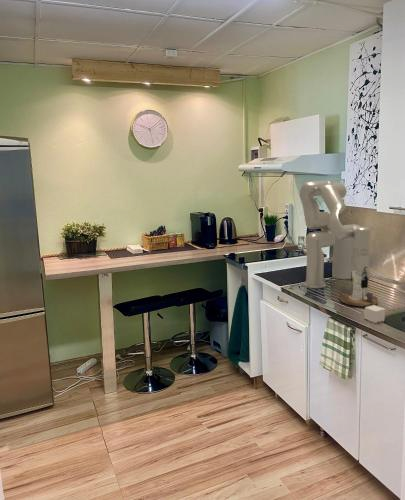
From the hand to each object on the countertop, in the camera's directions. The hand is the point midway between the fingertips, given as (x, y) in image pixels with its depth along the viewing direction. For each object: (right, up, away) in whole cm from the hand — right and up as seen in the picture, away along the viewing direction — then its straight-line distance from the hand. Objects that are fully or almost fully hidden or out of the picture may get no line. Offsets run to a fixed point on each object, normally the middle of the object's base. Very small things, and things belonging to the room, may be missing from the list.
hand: (359, 284), depth 210 cm
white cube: (-2, -15, -22) cm, 27 cm away
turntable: (0, -9, +2) cm, 9 cm away
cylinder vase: (+7, +1, +47) cm, 47 cm away
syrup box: (0, -7, +1) cm, 7 cm away
